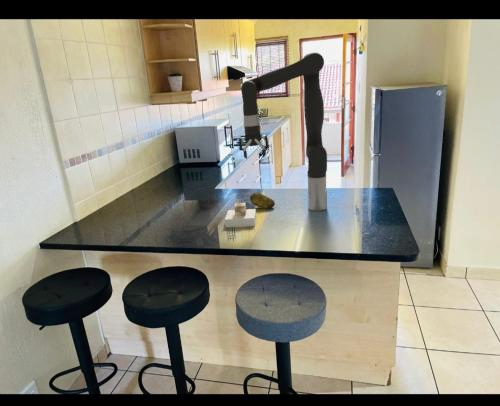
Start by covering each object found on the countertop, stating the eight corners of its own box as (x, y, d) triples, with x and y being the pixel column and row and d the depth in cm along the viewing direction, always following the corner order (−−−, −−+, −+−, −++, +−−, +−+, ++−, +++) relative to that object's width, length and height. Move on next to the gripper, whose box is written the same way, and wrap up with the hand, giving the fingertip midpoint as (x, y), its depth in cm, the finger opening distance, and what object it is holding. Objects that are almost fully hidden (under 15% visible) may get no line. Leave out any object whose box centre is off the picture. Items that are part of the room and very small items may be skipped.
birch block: (246, 212, 186) (245, 202, 184) (245, 215, 181) (244, 205, 180) (236, 212, 186) (235, 203, 185) (235, 216, 182) (234, 206, 180)
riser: (256, 216, 191) (255, 208, 189) (254, 226, 178) (254, 218, 177) (228, 217, 192) (228, 210, 191) (225, 227, 180) (224, 219, 178)
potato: (267, 212, 195) (266, 197, 193) (248, 208, 203) (247, 194, 201) (276, 207, 202) (275, 192, 199) (257, 203, 209) (256, 190, 207)
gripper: (266, 122, 183) (269, 155, 188) (237, 124, 184) (241, 157, 189) (266, 124, 176) (269, 158, 181) (236, 126, 177) (240, 160, 182)
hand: (254, 157), depth 185 cm, fingers open, 8 cm apart
